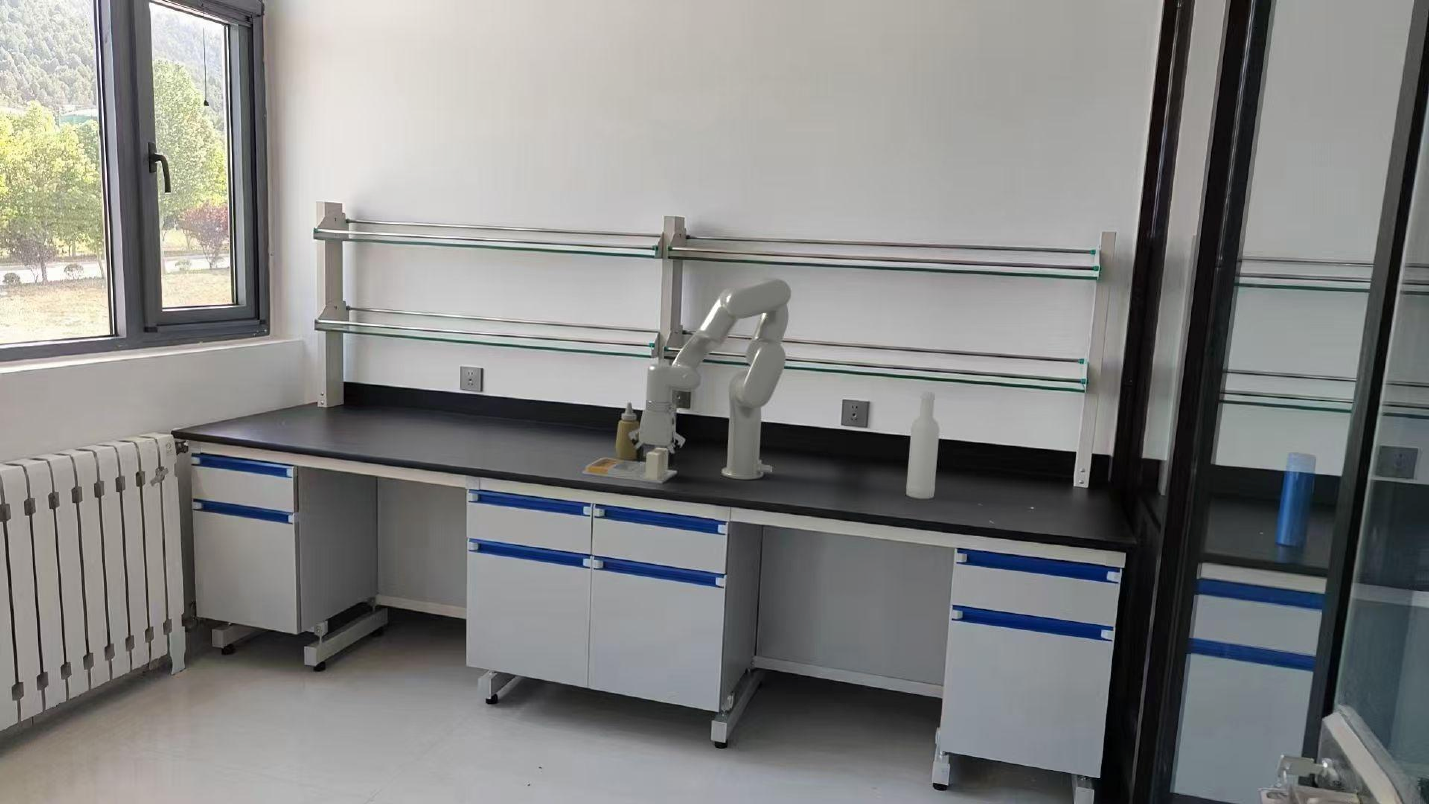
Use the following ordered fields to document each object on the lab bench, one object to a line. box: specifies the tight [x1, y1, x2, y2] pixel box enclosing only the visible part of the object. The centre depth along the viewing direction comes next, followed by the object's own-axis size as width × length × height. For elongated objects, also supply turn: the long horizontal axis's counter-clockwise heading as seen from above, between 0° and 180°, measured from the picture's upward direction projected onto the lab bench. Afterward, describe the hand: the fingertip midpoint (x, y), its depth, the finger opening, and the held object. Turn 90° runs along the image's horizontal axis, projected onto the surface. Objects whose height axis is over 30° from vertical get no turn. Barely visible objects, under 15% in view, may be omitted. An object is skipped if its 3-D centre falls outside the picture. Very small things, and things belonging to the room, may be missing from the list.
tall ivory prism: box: [645, 447, 669, 478], centre depth 282 cm, size 4×9×7 cm, turn 163°
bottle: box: [905, 391, 940, 500], centre depth 272 cm, size 8×8×30 cm
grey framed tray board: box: [582, 457, 678, 484], centre depth 285 cm, size 25×13×2 cm, turn 73°
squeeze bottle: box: [615, 402, 640, 461], centre depth 303 cm, size 8×8×18 cm
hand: (655, 463), depth 282 cm, fingers open, 9 cm apart
